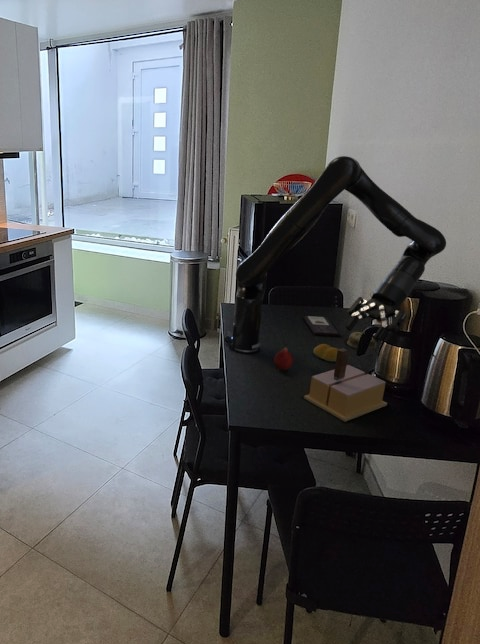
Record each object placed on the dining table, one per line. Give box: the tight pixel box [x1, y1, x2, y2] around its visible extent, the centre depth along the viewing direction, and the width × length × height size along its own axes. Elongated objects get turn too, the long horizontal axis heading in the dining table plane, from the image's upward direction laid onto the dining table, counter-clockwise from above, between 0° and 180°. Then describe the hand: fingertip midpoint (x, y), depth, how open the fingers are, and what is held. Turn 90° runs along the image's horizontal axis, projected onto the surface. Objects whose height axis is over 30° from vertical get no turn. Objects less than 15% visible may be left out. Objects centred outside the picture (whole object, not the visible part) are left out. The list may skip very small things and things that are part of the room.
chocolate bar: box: [303, 315, 340, 337], centre depth 195 cm, size 9×1×18 cm
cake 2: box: [346, 331, 378, 351], centre depth 177 cm, size 10×10×5 cm
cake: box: [303, 364, 388, 423], centre depth 138 cm, size 18×14×7 cm
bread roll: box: [313, 343, 340, 362], centre depth 168 cm, size 8×9×4 cm
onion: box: [273, 347, 294, 372], centre depth 157 cm, size 6×6×8 cm
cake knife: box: [333, 347, 350, 385], centre depth 135 cm, size 3×2×16 cm, turn 118°
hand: (361, 334), depth 134 cm, fingers open, 8 cm apart
